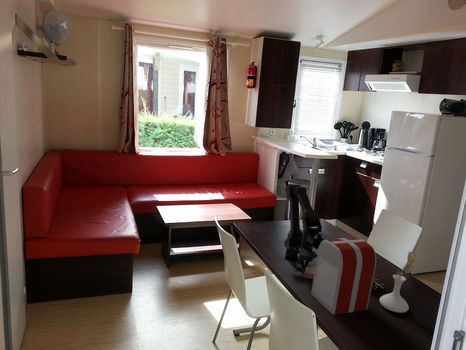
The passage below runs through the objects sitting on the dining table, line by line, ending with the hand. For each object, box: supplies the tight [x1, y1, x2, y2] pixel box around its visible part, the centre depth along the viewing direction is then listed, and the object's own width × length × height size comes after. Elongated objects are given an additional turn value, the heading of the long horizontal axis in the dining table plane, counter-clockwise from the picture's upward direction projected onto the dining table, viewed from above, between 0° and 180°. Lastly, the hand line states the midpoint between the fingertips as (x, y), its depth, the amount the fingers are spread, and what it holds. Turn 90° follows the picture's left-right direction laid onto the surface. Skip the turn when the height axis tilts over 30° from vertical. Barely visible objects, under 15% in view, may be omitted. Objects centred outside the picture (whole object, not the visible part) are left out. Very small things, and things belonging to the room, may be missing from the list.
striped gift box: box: [310, 237, 377, 315], centre depth 153 cm, size 17×18×27 cm
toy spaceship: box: [300, 228, 337, 240], centre depth 225 cm, size 28×24×3 cm
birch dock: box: [293, 263, 315, 280], centre depth 175 cm, size 23×12×5 cm, turn 72°
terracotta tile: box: [303, 266, 315, 276], centre depth 176 cm, size 12×6×2 cm, turn 72°
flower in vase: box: [379, 250, 419, 314], centre depth 152 cm, size 13×11×25 cm
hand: (303, 270), depth 178 cm, fingers closed
